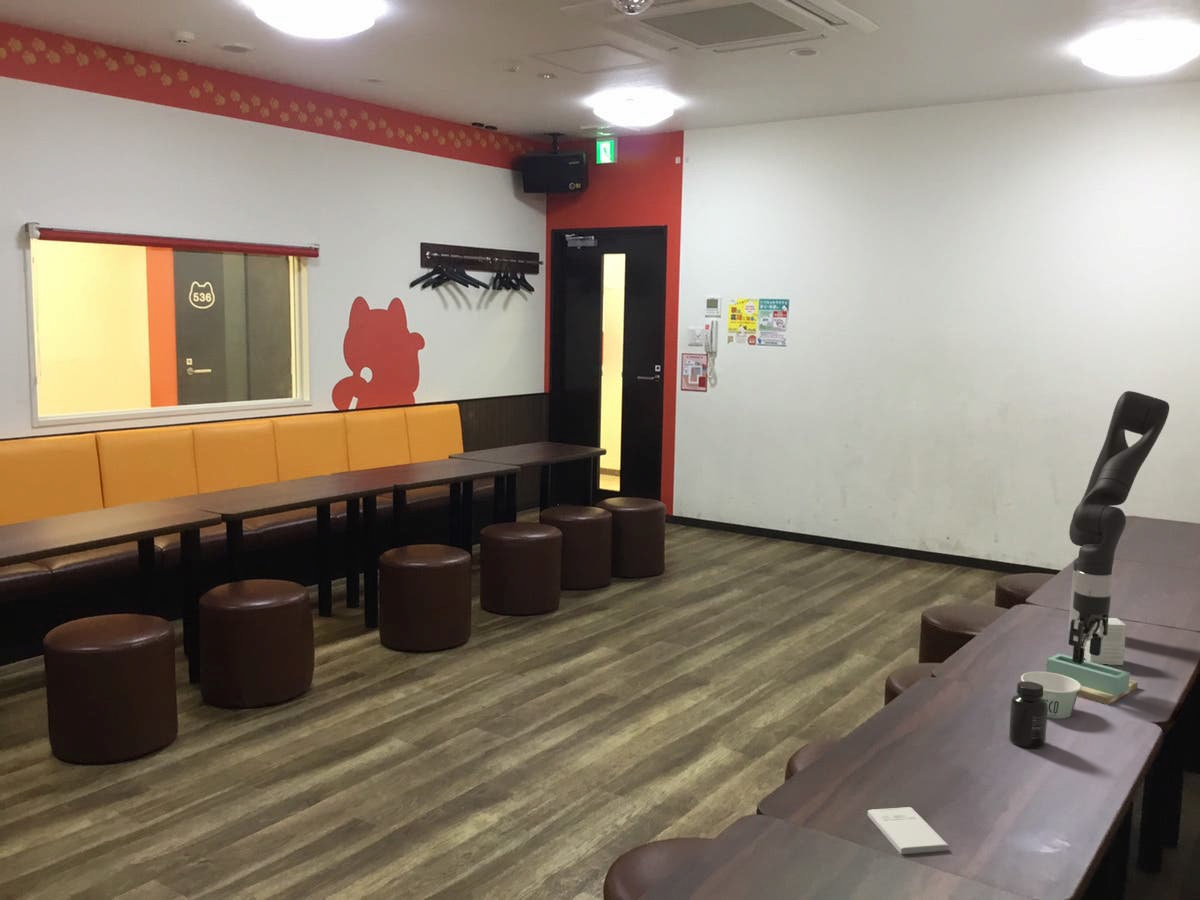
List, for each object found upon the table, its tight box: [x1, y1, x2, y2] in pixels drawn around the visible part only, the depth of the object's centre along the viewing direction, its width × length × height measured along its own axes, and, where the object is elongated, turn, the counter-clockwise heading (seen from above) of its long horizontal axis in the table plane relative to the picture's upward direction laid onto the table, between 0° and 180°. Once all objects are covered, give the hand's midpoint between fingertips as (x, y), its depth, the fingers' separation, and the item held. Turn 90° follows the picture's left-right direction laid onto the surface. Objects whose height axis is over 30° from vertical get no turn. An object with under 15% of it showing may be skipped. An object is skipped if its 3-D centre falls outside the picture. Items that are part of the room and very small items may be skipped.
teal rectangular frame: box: [1045, 653, 1131, 696], centre depth 227 cm, size 16×6×4 cm, turn 40°
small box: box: [1084, 617, 1127, 666], centre depth 245 cm, size 8×6×10 cm
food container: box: [1020, 671, 1081, 719], centre depth 214 cm, size 12×12×6 cm
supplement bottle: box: [1008, 680, 1048, 750], centre depth 197 cm, size 7×7×12 cm
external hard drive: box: [867, 806, 949, 855], centre depth 163 cm, size 2×8×12 cm
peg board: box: [1077, 678, 1139, 706], centre depth 228 cm, size 16×15×4 cm
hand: (1086, 658), depth 226 cm, fingers open, 8 cm apart
